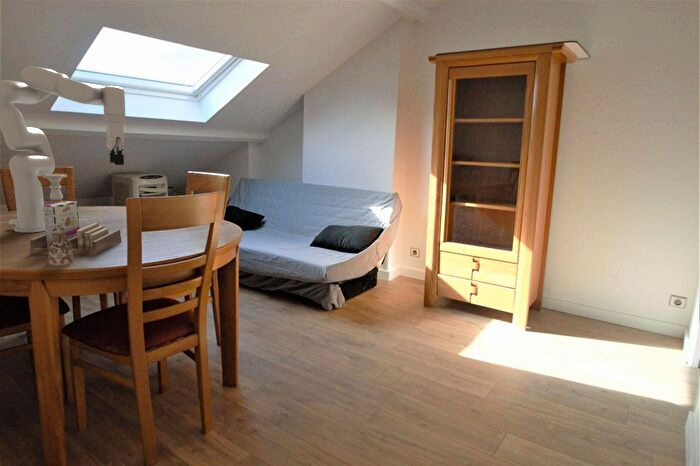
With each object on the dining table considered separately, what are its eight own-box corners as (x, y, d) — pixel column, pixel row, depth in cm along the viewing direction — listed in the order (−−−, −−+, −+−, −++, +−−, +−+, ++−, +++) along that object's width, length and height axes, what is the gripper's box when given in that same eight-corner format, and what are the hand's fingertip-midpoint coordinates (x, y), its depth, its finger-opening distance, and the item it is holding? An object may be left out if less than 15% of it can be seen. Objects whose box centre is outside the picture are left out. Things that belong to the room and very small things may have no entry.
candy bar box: (70, 243, 178) (66, 200, 175) (81, 244, 177) (78, 201, 174) (45, 249, 167) (41, 204, 164) (57, 251, 166) (54, 205, 163)
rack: (30, 254, 161) (28, 240, 160) (63, 239, 183) (62, 227, 182) (95, 256, 163) (95, 242, 162) (121, 241, 185) (120, 229, 184)
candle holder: (62, 219, 221) (59, 176, 217) (36, 217, 221) (32, 175, 217) (77, 214, 233) (75, 174, 229) (53, 213, 233) (50, 172, 229)
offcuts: (78, 252, 166) (76, 230, 164) (96, 243, 180) (94, 222, 178) (94, 252, 167) (92, 230, 165) (110, 243, 180) (109, 223, 179)
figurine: (46, 266, 149) (43, 229, 146) (50, 260, 155) (47, 225, 153) (72, 264, 152) (69, 228, 149) (75, 259, 158) (72, 224, 156)
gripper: (100, 118, 186) (102, 161, 190) (108, 119, 173) (110, 165, 176) (121, 119, 191) (122, 162, 194) (130, 120, 177) (131, 165, 181)
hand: (116, 163), depth 185 cm, fingers open, 9 cm apart
